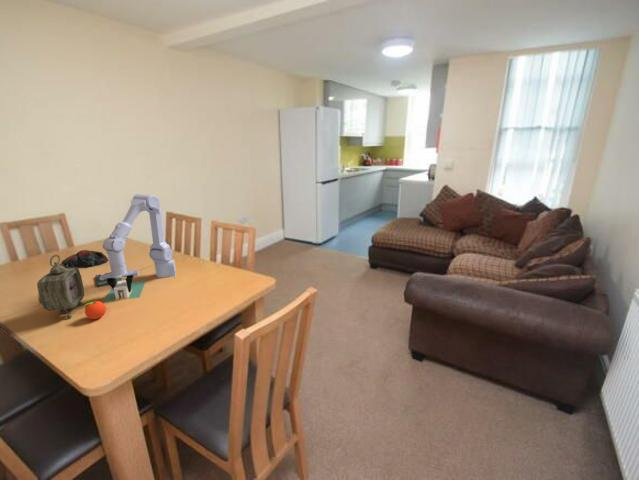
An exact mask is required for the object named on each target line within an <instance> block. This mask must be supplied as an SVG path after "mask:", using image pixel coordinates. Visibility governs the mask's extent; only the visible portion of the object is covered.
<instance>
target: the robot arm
mask: <svg viewBox="0 0 639 480" xmlns="http://www.w3.org/2000/svg"><path fill="white" fill-rule="evenodd" d="M145 211H146V212H147V213H148V214H149V221H150V230H151V238H152V244H151V245H150V246H149V252H148V254H149V258H150V259H151V260H152V261H153V264H154V270H155V273H156V274H155V275H156V277H157V278H158V279H163V278H168V277H173V278H174V279H175V278H176V276H177V269H176V263H175V259H172V258H173V251H172V249H171V246H170V245H169V243H167V242H166V238H165V237H166V236H165V229H164V228H165V227H164V221H163V220H164V219H163V210H162V207H161V204H160V199H159V197H158V196H156V195H154V194H142V193H137V194H134V195H133V197H132V199H131V200H130V207H129V208H128V210H127V212H126V215H125V217H124V218H123V220H122V222H118V223H117V224H115V226H114V229H113V230H112V232H111V234H109V237H107V238H105V240H103V243H102V245H101V247H102V249H103V250H104V251H105V252H106V254H107V259H108V262H109V266H110V271H111V272H112V273H110V272H108V273H109V274H105V273H104V274H101V276H100V279H101V280H105V279H107V283H108V284H109V285H108V286H110V288H112V289H113V290H114V287H115V286H116V284H117V283H116V278H121V279H122V278H125V280H126V282H127V286H128V291H129V292H131V284H132V282H133V279H134V277H139V275H140V273H139V270H138V269H137V270H127V266H126V265H127V264H126V261H125V254H124V249H125V247H126V240H127V237H128V236H129V234H130V232H131V231H132V224H133V223H134V221H135V220H136V218H137V217H138V215H140V213H141V212H145Z"/></svg>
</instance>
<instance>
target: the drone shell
mask: <svg viewBox="0 0 639 480" xmlns="http://www.w3.org/2000/svg"><path fill="white" fill-rule="evenodd" d="M107 262H109V258H108V256H107V255H105V254H104V253H103V252H102V251H96V250H86V249H82V250H79V251H78V252H77V253H74V254H71V255H70V256H68V257H66V258H65V259H63V260H62V261H61V264H62V266H63V267H65V268H67V269H72V268H78V269H79V268H80V269H83V268H85V269H86V268H89V266H90V267H91V268H92V267H94V268H95V267H98V266H102V265H103V264H107Z"/></svg>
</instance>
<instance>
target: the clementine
mask: <svg viewBox="0 0 639 480" xmlns="http://www.w3.org/2000/svg"><path fill="white" fill-rule="evenodd" d="M83 307H85V308H84V314H85V316H86V317H87V318H89V319H90V320H91V319H92V320H97V319H100V318H102V317H103V316H104V315H105V313H106V310H107V307H106V305H105V303H103V302H102V301H97V300H94V301H91V302H88V303H85V304H84V305H83ZM81 310H83V308H81Z"/></svg>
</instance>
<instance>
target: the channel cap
mask: <svg viewBox="0 0 639 480" xmlns="http://www.w3.org/2000/svg"><path fill="white" fill-rule="evenodd" d="M121 290H123V292H124V297H125V298H127V297H128V296H129V294H130V292H129V291H128V286H127V282H126V279H124V280H123V279H122V281H118V282H117V283H116V286H115V287H114V293H115V297H116V299H119V298H120V296H121V295H120V292H121Z"/></svg>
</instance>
